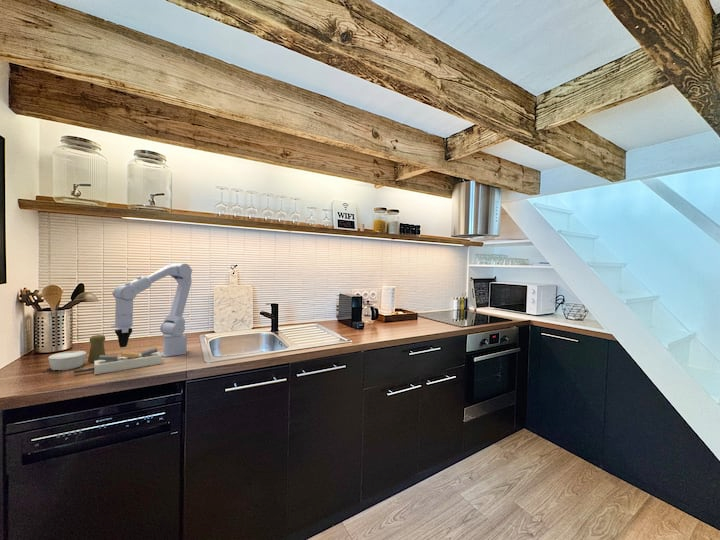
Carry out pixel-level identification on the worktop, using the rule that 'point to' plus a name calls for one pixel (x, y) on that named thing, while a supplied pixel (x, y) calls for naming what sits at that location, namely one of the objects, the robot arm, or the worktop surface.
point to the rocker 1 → (108, 357)
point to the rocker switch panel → (123, 363)
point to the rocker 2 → (149, 352)
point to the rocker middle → (129, 354)
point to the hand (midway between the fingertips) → (123, 346)
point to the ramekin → (67, 360)
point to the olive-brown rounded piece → (96, 347)
